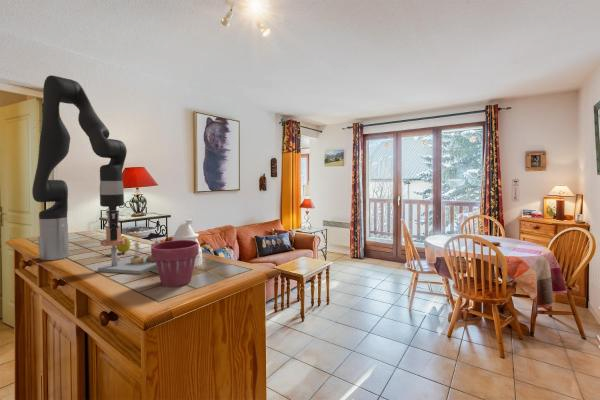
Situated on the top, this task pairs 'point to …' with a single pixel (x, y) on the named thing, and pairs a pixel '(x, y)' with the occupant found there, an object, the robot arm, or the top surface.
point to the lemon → (124, 246)
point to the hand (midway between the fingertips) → (113, 238)
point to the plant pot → (175, 261)
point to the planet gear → (113, 242)
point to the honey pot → (188, 238)
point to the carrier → (130, 263)
